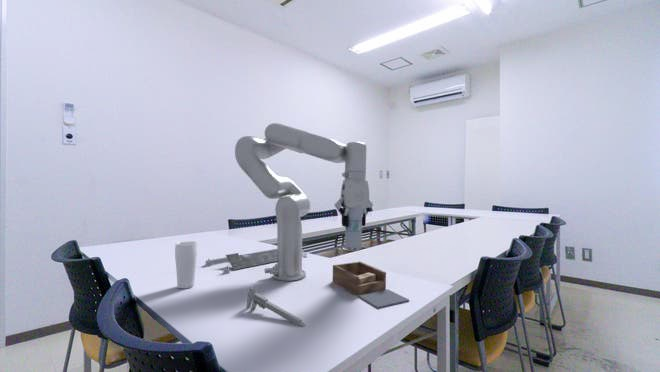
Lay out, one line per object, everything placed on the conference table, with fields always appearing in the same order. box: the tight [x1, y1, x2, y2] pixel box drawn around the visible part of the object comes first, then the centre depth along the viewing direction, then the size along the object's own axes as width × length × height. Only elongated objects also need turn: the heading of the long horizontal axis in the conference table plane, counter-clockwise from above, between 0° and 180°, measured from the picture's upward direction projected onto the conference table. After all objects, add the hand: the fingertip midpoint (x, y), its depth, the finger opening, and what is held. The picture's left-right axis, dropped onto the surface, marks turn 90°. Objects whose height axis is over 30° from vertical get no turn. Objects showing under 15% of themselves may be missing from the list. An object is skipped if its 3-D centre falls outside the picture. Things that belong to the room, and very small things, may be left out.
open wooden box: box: [332, 260, 387, 297], centre depth 105 cm, size 12×16×6 cm
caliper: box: [246, 287, 306, 328], centre depth 80 cm, size 20×1×6 cm, turn 58°
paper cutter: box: [205, 248, 308, 275], centre depth 139 cm, size 18×45×6 cm, turn 133°
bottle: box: [344, 204, 364, 252], centre depth 107 cm, size 7×7×20 cm
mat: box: [357, 289, 410, 310], centre depth 93 cm, size 12×10×1 cm
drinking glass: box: [174, 240, 198, 290], centre depth 102 cm, size 7×7×15 cm
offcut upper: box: [358, 273, 376, 285], centre depth 102 cm, size 8×3×2 cm, turn 130°
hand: (353, 225), depth 107 cm, fingers closed on bottle, 6 cm apart
